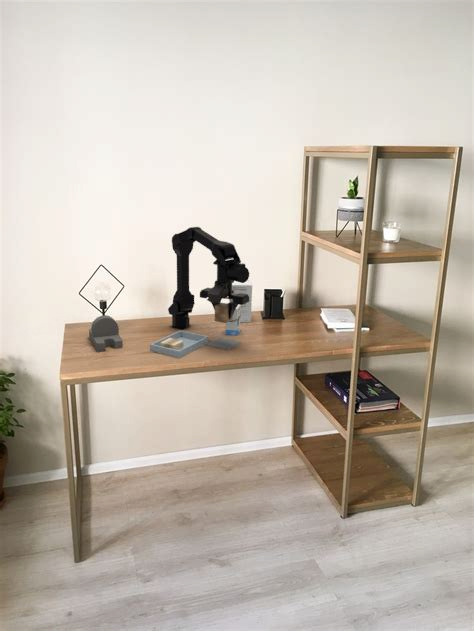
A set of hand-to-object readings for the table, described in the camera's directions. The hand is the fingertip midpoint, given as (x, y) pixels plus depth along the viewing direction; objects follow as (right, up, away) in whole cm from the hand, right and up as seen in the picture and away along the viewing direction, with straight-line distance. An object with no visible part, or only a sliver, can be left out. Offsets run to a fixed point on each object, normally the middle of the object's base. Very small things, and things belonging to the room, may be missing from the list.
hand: (223, 317), depth 212 cm
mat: (0, -10, +3) cm, 11 cm away
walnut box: (0, -1, 0) cm, 1 cm away
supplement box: (+6, -1, +35) cm, 36 cm away
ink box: (+3, -6, +17) cm, 18 cm away
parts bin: (-17, -11, -1) cm, 20 cm away
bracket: (-45, -10, +3) cm, 47 cm away
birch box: (-19, -12, -5) cm, 23 cm away
